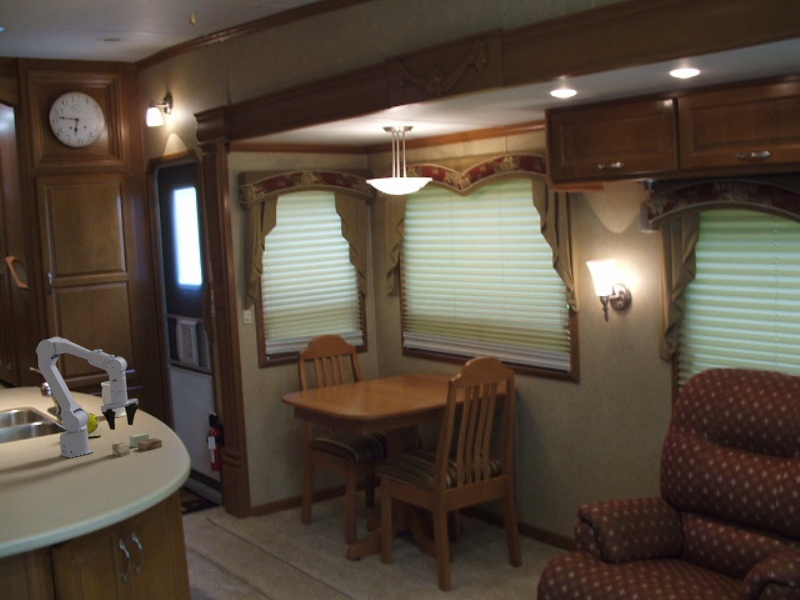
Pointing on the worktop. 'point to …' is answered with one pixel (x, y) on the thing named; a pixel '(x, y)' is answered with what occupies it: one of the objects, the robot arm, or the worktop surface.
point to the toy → (92, 423)
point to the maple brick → (120, 448)
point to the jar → (107, 399)
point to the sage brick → (138, 439)
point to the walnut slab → (150, 444)
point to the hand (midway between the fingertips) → (121, 427)
